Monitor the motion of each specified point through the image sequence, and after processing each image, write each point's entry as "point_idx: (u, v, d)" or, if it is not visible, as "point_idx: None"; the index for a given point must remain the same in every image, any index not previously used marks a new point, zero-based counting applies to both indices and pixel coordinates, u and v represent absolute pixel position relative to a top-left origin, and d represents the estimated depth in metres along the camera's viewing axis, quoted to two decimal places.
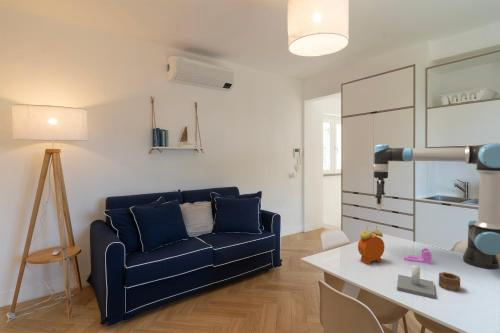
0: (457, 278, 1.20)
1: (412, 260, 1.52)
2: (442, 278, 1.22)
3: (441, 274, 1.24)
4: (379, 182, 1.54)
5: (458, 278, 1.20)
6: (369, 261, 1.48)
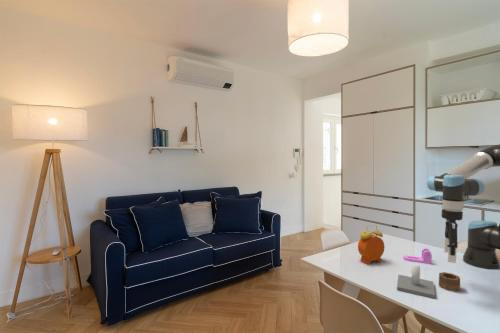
0: (457, 278, 1.20)
1: (412, 260, 1.51)
2: (442, 278, 1.22)
3: (441, 274, 1.24)
4: (453, 226, 1.16)
5: (458, 278, 1.20)
6: (369, 261, 1.48)
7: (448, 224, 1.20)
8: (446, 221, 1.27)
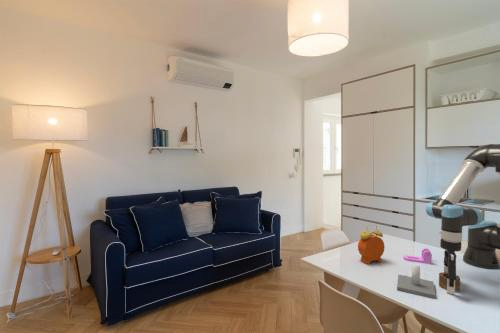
0: (457, 278, 1.20)
1: (412, 260, 1.51)
2: (442, 278, 1.22)
3: (441, 274, 1.24)
4: (452, 258, 1.16)
5: (458, 278, 1.20)
6: (369, 261, 1.48)
7: (447, 254, 1.21)
8: (445, 250, 1.28)
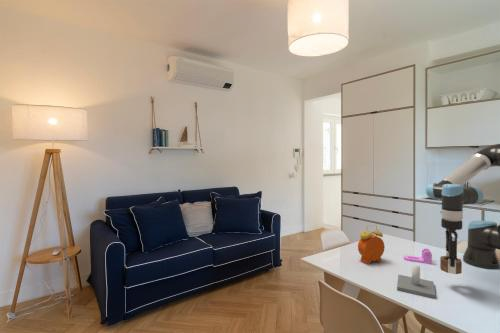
0: (458, 261, 1.20)
1: (412, 260, 1.51)
2: (443, 261, 1.22)
3: (442, 257, 1.24)
4: (453, 239, 1.16)
5: (459, 261, 1.20)
6: (369, 261, 1.48)
7: (448, 234, 1.21)
8: None
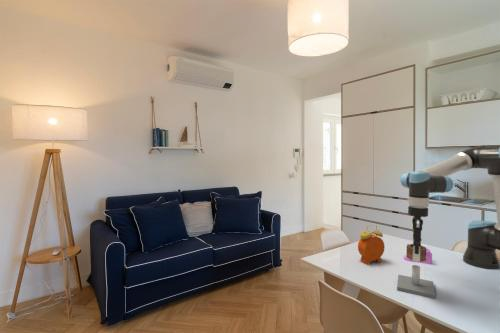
0: (423, 248, 1.19)
1: (412, 260, 1.51)
2: (409, 249, 1.21)
3: (408, 245, 1.23)
4: (417, 225, 1.15)
5: (424, 248, 1.19)
6: (369, 261, 1.48)
7: (414, 221, 1.20)
8: None
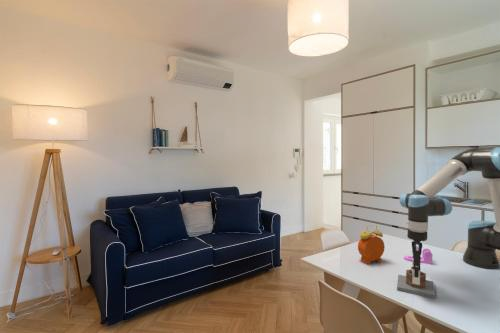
0: (423, 275, 1.20)
1: None
2: (408, 275, 1.22)
3: (408, 271, 1.24)
4: (417, 248, 1.16)
5: (424, 275, 1.20)
6: (369, 261, 1.48)
7: (413, 245, 1.21)
8: None
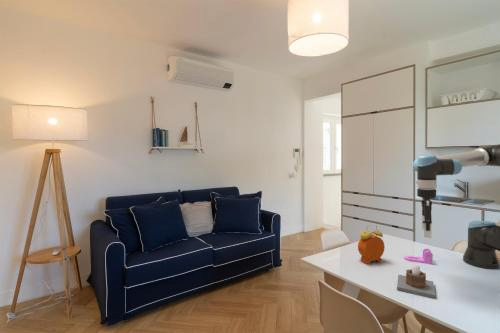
0: (423, 275, 1.20)
1: (413, 260, 1.51)
2: (408, 275, 1.22)
3: (408, 271, 1.24)
4: (427, 203, 1.23)
5: (424, 275, 1.20)
6: (369, 261, 1.48)
7: (423, 202, 1.28)
8: None
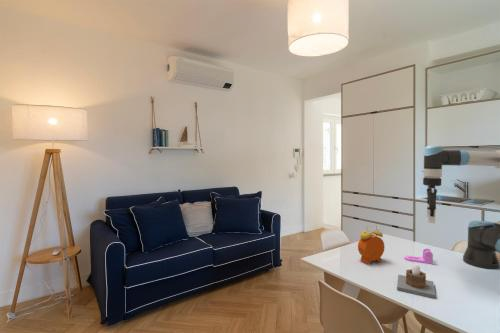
0: (423, 275, 1.20)
1: (413, 260, 1.51)
2: (408, 275, 1.22)
3: (408, 271, 1.24)
4: (432, 191, 1.30)
5: (424, 275, 1.20)
6: (369, 261, 1.48)
7: (429, 190, 1.34)
8: (428, 189, 1.41)
